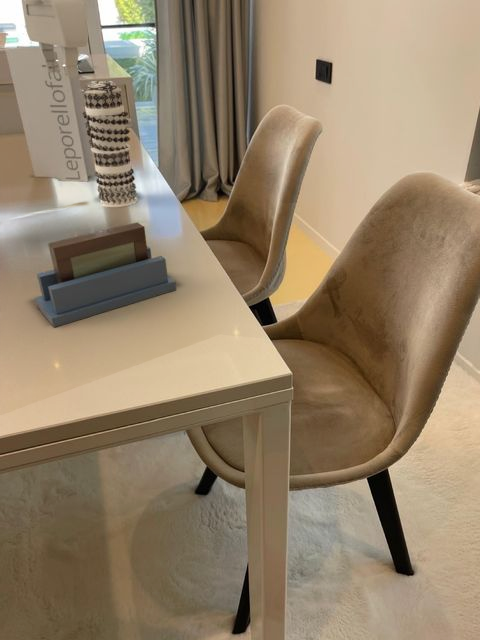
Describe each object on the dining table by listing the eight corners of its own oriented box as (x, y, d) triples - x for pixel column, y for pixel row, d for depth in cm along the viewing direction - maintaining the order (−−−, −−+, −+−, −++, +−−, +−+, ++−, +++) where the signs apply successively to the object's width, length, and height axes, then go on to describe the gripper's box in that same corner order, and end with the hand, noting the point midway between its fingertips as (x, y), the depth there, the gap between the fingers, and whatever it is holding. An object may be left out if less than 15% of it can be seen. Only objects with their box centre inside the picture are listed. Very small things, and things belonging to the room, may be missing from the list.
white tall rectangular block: (35, 180, 144) (4, 48, 128) (45, 174, 149) (16, 46, 132) (87, 181, 142) (63, 48, 126) (96, 175, 147) (73, 46, 131)
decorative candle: (130, 209, 124) (112, 85, 110) (91, 206, 126) (69, 85, 112) (145, 196, 132) (130, 79, 118) (108, 194, 133) (90, 78, 120)
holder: (176, 289, 90) (173, 258, 87) (53, 327, 81) (45, 293, 78) (154, 273, 96) (150, 242, 93) (36, 306, 86) (28, 274, 83)
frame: (151, 280, 90) (144, 226, 85) (66, 304, 83) (53, 248, 78) (144, 274, 92) (137, 222, 87) (60, 298, 85) (47, 243, 80)
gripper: (5, -22, 93) (25, 70, 100) (44, -25, 79) (64, 82, 86) (43, -22, 96) (60, 67, 103) (87, -25, 82) (103, 79, 89)
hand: (62, 74), depth 95 cm, fingers open, 8 cm apart
